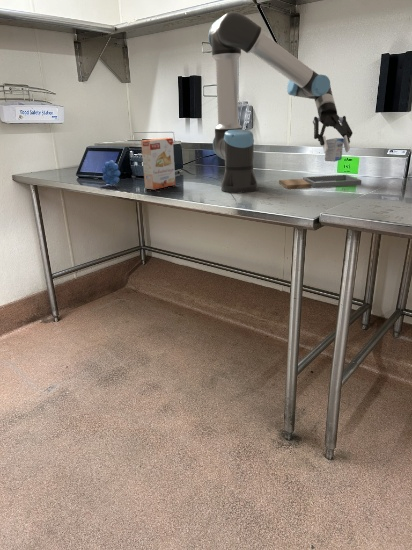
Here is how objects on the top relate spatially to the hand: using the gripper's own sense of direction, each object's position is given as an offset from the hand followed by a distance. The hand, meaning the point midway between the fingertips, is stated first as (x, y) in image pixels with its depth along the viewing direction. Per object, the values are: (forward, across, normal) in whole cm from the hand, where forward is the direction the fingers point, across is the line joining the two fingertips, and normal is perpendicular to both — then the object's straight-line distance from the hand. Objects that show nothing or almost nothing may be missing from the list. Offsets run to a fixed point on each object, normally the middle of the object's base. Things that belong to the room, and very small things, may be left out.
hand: (337, 150), depth 167 cm
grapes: (-9, +95, -32) cm, 100 cm away
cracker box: (-1, +73, -23) cm, 76 cm away
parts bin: (+7, 0, -13) cm, 15 cm away
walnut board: (+7, +16, -13) cm, 22 cm away
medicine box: (+1, 0, -6) cm, 6 cm away
